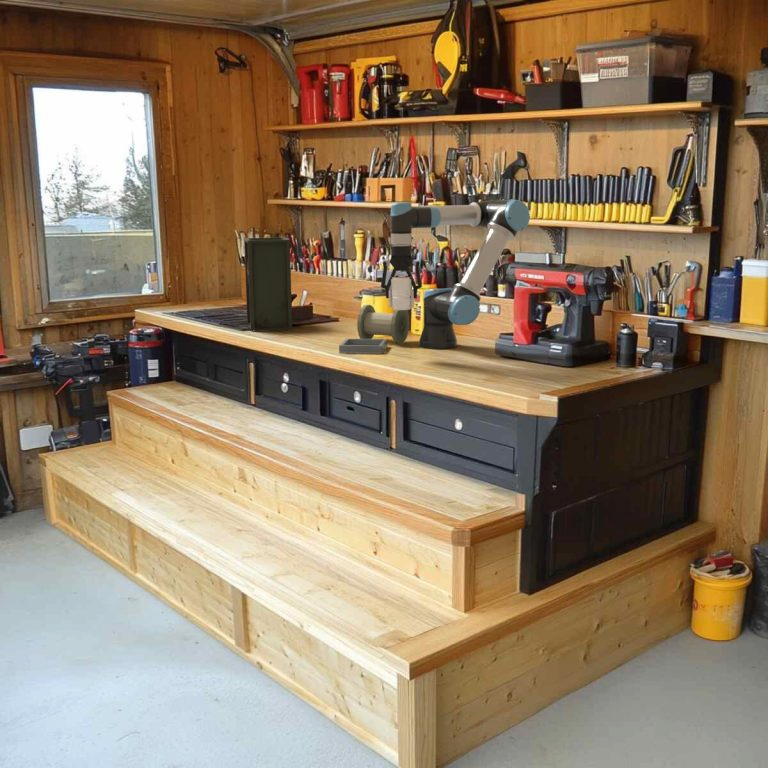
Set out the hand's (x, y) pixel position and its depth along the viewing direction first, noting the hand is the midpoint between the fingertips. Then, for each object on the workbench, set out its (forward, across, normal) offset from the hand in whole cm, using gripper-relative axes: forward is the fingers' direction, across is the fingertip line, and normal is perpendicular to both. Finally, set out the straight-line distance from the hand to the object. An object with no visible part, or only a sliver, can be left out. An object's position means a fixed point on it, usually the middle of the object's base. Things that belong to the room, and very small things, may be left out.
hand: (401, 307), depth 338 cm
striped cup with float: (+1, 0, 0) cm, 1 cm away
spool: (+19, +11, -33) cm, 40 cm away
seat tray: (+19, +17, -14) cm, 29 cm away
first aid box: (+19, +68, -67) cm, 97 cm away
